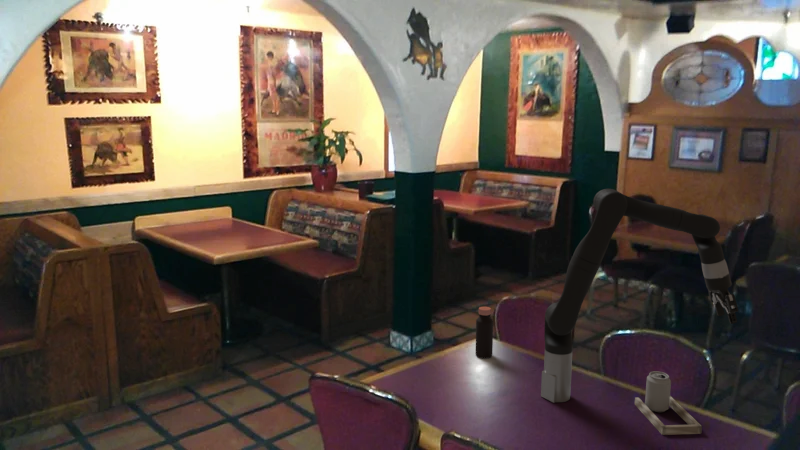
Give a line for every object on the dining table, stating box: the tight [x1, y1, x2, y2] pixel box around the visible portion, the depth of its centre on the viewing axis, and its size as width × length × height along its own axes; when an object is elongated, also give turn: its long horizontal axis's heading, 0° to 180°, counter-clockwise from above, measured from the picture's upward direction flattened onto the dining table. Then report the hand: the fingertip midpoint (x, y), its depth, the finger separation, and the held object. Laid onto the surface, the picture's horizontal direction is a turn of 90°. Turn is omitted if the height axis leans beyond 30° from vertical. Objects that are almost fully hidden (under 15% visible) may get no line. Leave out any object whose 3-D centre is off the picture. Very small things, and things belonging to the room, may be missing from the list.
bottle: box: [475, 306, 494, 359], centre depth 255 cm, size 7×7×20 cm
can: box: [644, 370, 672, 413], centre depth 211 cm, size 8×8×12 cm
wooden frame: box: [634, 395, 703, 436], centre depth 205 cm, size 20×12×2 cm, turn 3°
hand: (727, 319), depth 210 cm, fingers open, 8 cm apart
